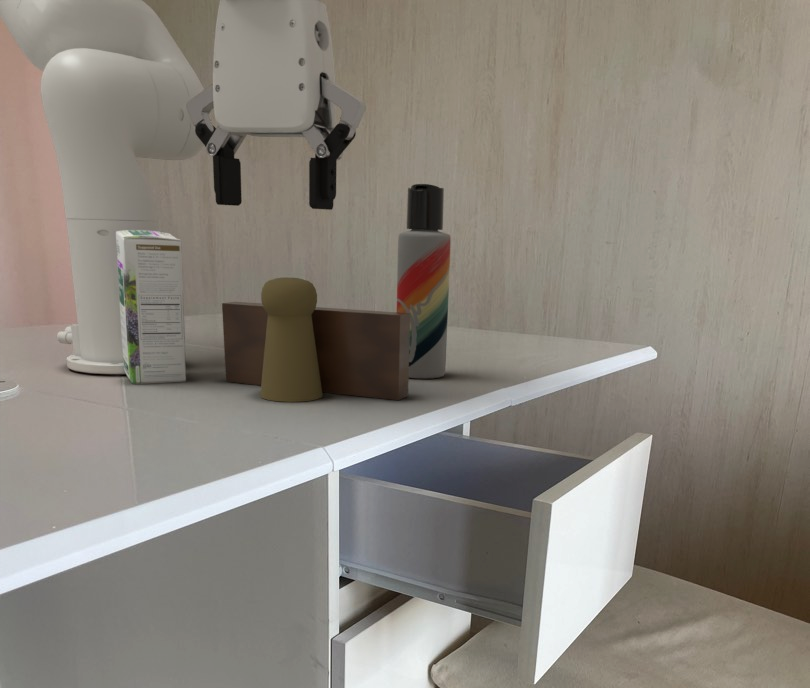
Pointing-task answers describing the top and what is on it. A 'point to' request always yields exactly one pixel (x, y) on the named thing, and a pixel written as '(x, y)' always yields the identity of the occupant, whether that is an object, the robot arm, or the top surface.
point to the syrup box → (151, 306)
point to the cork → (290, 342)
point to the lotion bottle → (425, 280)
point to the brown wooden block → (328, 349)
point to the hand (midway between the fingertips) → (274, 207)
